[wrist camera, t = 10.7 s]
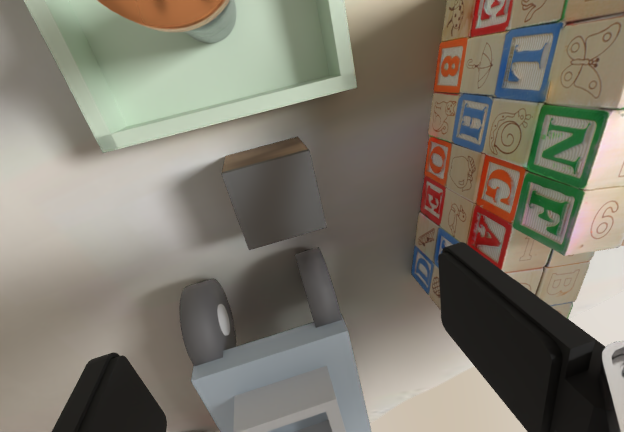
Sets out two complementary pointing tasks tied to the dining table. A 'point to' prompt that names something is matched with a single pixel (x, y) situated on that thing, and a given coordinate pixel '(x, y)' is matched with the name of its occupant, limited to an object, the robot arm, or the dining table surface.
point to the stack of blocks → (526, 142)
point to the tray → (193, 65)
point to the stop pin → (180, 16)
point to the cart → (275, 363)
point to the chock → (274, 192)
